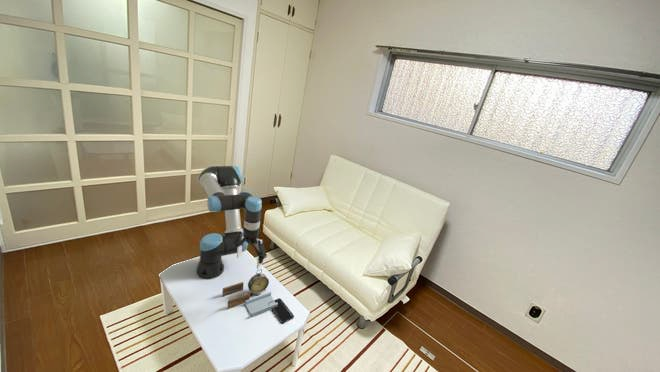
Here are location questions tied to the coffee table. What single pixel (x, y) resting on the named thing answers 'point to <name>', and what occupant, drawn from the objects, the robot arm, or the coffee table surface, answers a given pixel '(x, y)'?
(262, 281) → the alarm clock
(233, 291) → the channel
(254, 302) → the cradle
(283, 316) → the phone
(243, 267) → the coffee table surface
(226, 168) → the robot arm
